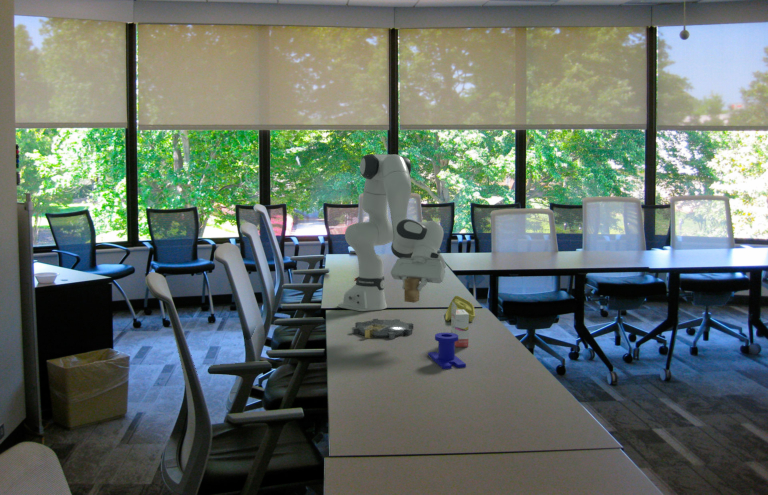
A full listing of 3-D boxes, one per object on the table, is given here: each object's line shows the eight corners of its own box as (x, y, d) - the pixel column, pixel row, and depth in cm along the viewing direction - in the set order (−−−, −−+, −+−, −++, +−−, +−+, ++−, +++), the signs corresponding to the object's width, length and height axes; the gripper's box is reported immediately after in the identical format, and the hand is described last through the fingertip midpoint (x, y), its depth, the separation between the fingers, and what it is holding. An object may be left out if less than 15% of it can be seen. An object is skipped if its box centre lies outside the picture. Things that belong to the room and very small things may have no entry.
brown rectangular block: (404, 301, 223) (404, 279, 222) (409, 299, 226) (409, 277, 225) (414, 302, 221) (414, 280, 220) (419, 300, 224) (419, 278, 223)
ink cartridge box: (469, 347, 217) (469, 305, 215) (455, 347, 216) (455, 306, 214) (463, 340, 225) (464, 300, 223) (450, 340, 225) (450, 301, 223)
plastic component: (475, 317, 251) (453, 306, 251) (467, 332, 253) (445, 322, 253) (473, 303, 270) (453, 293, 271) (466, 317, 272) (445, 307, 272)
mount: (428, 356, 207) (428, 330, 206) (449, 354, 209) (449, 329, 208) (443, 369, 192) (443, 342, 191) (465, 367, 194) (466, 340, 193)
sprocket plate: (340, 334, 234) (340, 326, 234) (371, 320, 255) (371, 313, 255) (395, 342, 223) (395, 334, 222) (424, 327, 244) (424, 320, 243)
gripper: (395, 252, 233) (382, 281, 225) (445, 255, 223) (434, 286, 215) (400, 262, 237) (388, 291, 230) (450, 266, 227) (439, 296, 220)
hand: (411, 289), depth 222 cm, fingers closed on brown rectangular block, 4 cm apart
